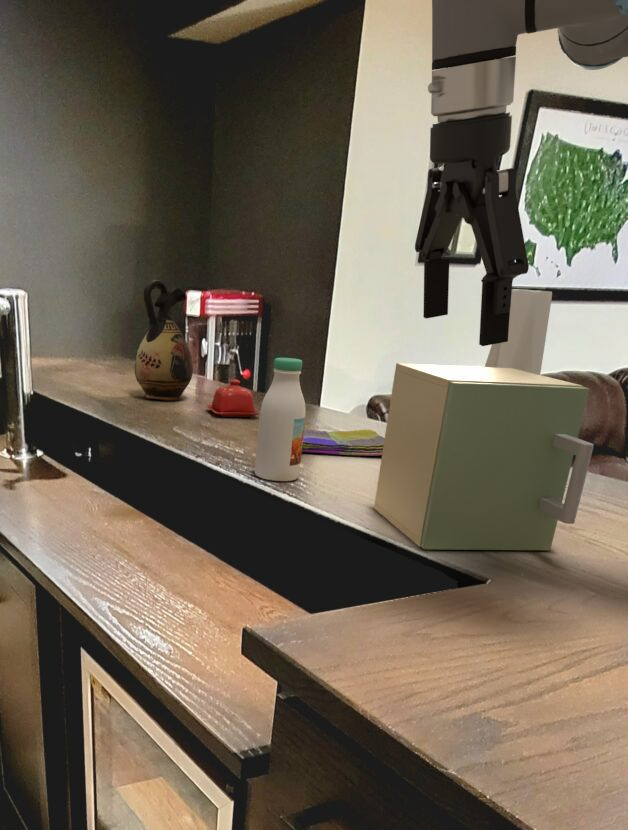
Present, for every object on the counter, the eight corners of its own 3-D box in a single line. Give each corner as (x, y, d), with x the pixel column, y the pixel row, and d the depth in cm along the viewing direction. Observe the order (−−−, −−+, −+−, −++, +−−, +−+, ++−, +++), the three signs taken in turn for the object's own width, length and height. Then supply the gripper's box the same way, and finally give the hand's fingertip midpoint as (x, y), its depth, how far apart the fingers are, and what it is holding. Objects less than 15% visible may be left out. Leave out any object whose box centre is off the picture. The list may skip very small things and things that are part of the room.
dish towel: (263, 433, 158) (264, 420, 157) (373, 439, 158) (375, 426, 157) (274, 452, 141) (275, 439, 140) (397, 459, 142) (399, 445, 141)
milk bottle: (275, 484, 120) (288, 362, 113) (244, 473, 125) (255, 356, 119) (308, 479, 124) (322, 361, 118) (276, 468, 130) (288, 355, 123)
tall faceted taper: (445, 472, 134) (479, 287, 123) (471, 463, 142) (505, 288, 131) (511, 488, 126) (553, 291, 116) (535, 477, 134) (577, 293, 123)
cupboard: (544, 548, 98) (583, 385, 91) (419, 547, 95) (449, 380, 88) (483, 510, 113) (512, 368, 106) (373, 508, 110) (396, 363, 103)
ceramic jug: (169, 392, 203) (175, 280, 193) (202, 401, 191) (210, 283, 182) (117, 394, 193) (120, 277, 184) (148, 405, 182) (154, 280, 172)
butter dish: (204, 409, 181) (206, 375, 178) (248, 410, 183) (251, 376, 180) (214, 418, 170) (217, 382, 168) (261, 419, 172) (264, 383, 170)
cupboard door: (578, 567, 91) (622, 396, 84) (444, 567, 89) (478, 390, 82) (546, 547, 98) (584, 387, 90) (420, 546, 95) (449, 381, 88)
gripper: (385, 124, 82) (387, 311, 92) (500, 116, 60) (486, 364, 70) (449, 113, 82) (444, 301, 92) (586, 101, 60) (560, 350, 70)
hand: (462, 328), depth 81 cm, fingers open, 13 cm apart
